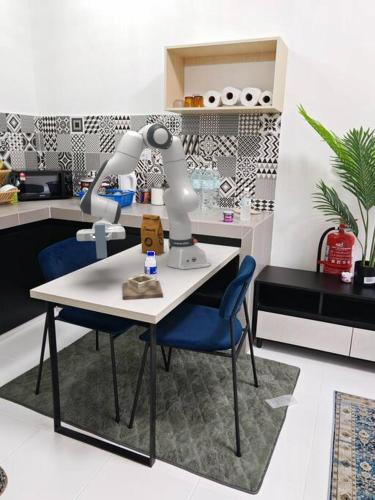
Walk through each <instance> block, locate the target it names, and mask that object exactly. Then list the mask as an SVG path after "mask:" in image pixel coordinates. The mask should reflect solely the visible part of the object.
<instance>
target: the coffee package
mask: <svg viewBox="0 0 375 500" xmlns="http://www.w3.org/2000/svg"><path fill="white" fill-rule="evenodd" d="M140 239H141V241H140V242H141V253H145V254H148V253H147V251H154V252H155V254H154V256H155V255H156V256H159V255H162V254H164V253H165V249H164V248H165V245H164V244H165V239H164V229H163V225H162V220H161V216H160V215H158V214H157V215H154V214H145V213H143V215H142V222H141V226H140Z"/></svg>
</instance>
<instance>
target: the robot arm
mask: <svg viewBox="0 0 375 500" xmlns="http://www.w3.org/2000/svg"><path fill="white" fill-rule="evenodd" d="M146 149H150V150H155V149H158V150H159V152H160V155H161V161H162V167H163V172H164V173H163V174H164V178H165V180H166V181H167V183H168V185H169V187H168V188H166V189H165V190H164V191H163V194H162V201H163V204H164V205H165V209H166V212H167V213H166V214H167V218H168V226H169V228H168V230H169V236H168V243H167V244H168V249H169V250H168V256H167V257H168V258H167V262H166V266H168V267H170V268H174V269H179V270H182V271H183V270H193V269H199V268H200V269H201V268H207V267H208V268H209V267H210V266H211V261H210V260H209V259H208V258H207V255H206V253H205V251H204V250H203V249H202V248H201V247H199V245H197V243H198V240H197V239H196V238H194V237H193V236H192V220H191V219H190V217H189V214H188V213H193V212H194V211H196V210H197V209H198V208H199V206H200V197H199V195H198V194H197V193H196V191H195V189H194V187H193V185H192V182H191V179H190V175H189V172H188V167H187V161H186V154H185V151H184V147H183V143H182V140H181V139H180V138H179V136H176V135H172V133H171V132H170V130H169V129H168V128H167V127H166V125H164V124H161V123H149V124H146V125H143V126H141V127H140V128H139V129H138V130H136V131H134V130H127V131H125V132H124V133H123V135H122V137H121V139H120V141H119V142H118V145H117V148H116V150H115V153H114V155H113V156H112V157H111V158H110V159H107V160H105V161H104V162H103V163H102V165H101V167H100V168H99V170H98V171H97V173H96V175H95V176H94V178H93V180H92V182H91V183H90V186H89V188H88V189H87V191H86V192H85V193H84V194H83V196H82V198H81V199H80V202H79V209H80V210H81V212H82V213H83V214H84V215H88V216H93V217H96V219H95V220H94V222H93V224H92V228H88V229H86V228H85V229H79V230H78V231H77V232H76V241H78V242H89V241H91V242H96V239H95V226H94V225H95V223H105V232H106V242H107V241H110V240H125V239H126V229H125V228H124V226H122V224H121V223H119V221H120V219H121V214H122V206H121V204H120V203H119V202H118V201H116V200H113V199H111V198H107V197H104V196H101V195H99V194H98V191H99V189H100V187H101V185H102V184H103V182H104V180H105V179H106V178H107V177H109V176H124V175H130V174H133V173H134V172H135V171H136V169H137V167H138V164H139V162H140V159H141V156H142V153H143V152H144V151H145V150H146Z"/></svg>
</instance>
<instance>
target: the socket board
mask: <svg viewBox="0 0 375 500" xmlns="http://www.w3.org/2000/svg"><path fill="white" fill-rule="evenodd" d="M126 281H127V282H122V285H121V287H122V301H125V300H126V301H127V300H141V299H158V298H164V293H163V289H162V286H161V284H160V280H157V279H156V278H154V277H152V276H149V275H145V274H141V275H137V276H133V277H130V278H127V279H126Z"/></svg>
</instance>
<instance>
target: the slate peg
mask: <svg viewBox="0 0 375 500" xmlns="http://www.w3.org/2000/svg"><path fill="white" fill-rule="evenodd" d="M94 226H95V239H96V241H95V250H96V260H97V259H99V260H100V259H107V258H108V250H107V249H108V248H107V247H108V246H107V241H106V232H105V223H95V225H94Z"/></svg>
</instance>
